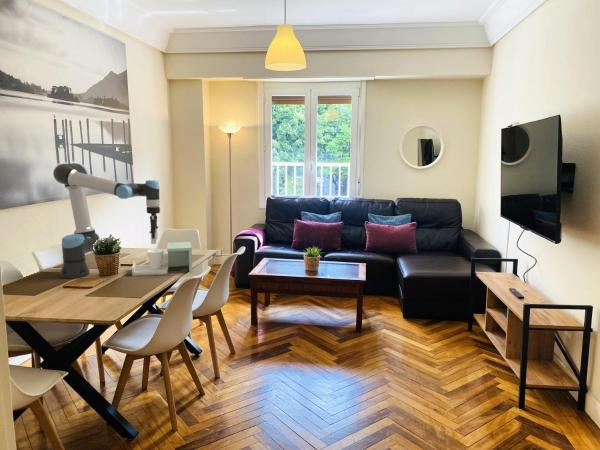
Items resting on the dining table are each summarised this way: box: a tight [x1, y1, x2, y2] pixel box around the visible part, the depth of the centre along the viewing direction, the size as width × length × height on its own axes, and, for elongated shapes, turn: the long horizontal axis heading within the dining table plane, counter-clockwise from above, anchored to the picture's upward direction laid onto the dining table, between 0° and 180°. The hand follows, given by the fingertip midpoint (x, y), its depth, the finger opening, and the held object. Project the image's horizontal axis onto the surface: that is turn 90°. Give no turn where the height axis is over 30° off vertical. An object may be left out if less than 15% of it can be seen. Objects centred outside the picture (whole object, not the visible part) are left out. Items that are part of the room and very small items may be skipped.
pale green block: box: [166, 241, 193, 274], centre depth 272 cm, size 14×19×16 cm
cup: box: [146, 248, 165, 269], centre depth 270 cm, size 10×10×11 cm
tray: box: [131, 260, 169, 277], centre depth 267 cm, size 20×16×5 cm
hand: (154, 241), depth 265 cm, fingers open, 13 cm apart
